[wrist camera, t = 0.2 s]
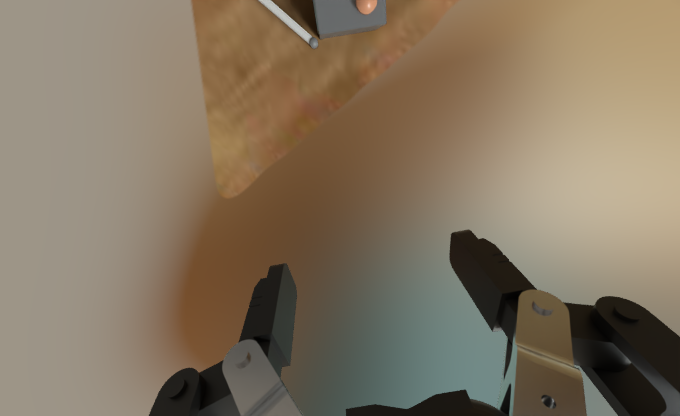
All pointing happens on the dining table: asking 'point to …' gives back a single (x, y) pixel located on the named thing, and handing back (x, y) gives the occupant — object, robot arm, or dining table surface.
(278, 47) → the dining table surface
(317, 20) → the camera body
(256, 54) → the dining table surface
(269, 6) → the side door
